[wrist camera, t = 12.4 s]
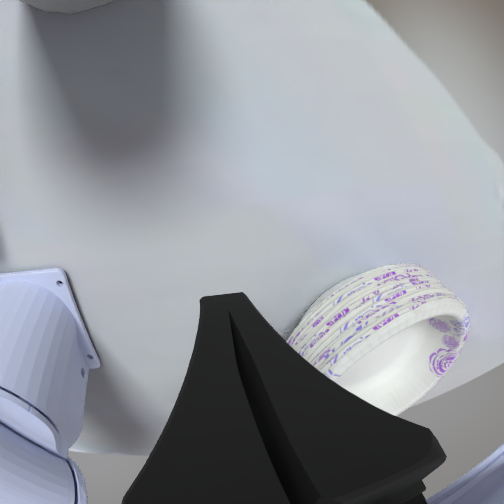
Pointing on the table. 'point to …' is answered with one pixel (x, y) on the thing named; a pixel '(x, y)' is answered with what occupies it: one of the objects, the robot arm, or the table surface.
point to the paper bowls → (384, 334)
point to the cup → (65, 5)
